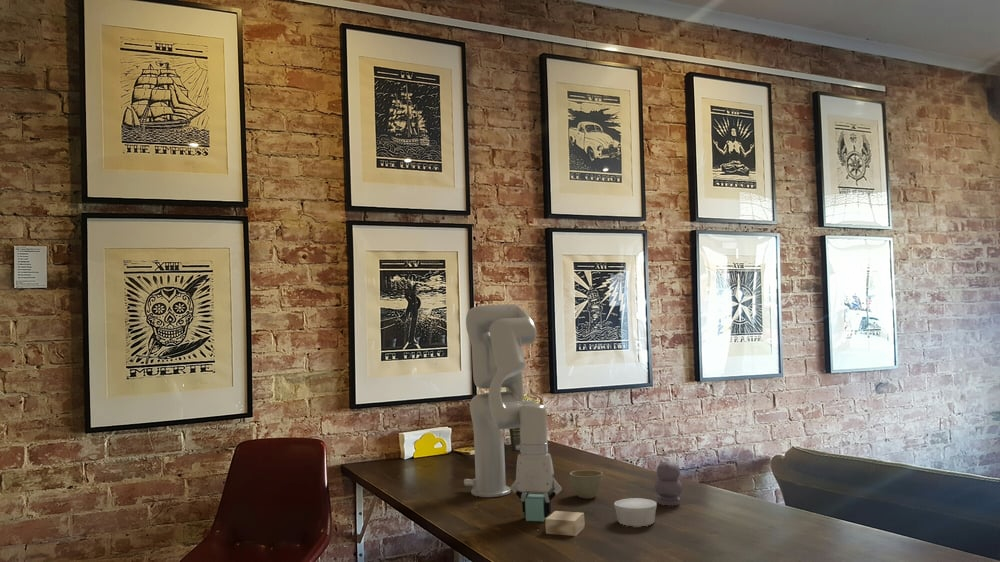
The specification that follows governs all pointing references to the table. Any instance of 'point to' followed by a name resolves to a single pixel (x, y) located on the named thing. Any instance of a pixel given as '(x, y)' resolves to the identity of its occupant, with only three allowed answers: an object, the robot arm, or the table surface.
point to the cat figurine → (668, 483)
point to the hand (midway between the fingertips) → (536, 514)
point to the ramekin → (635, 511)
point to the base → (565, 523)
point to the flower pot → (586, 482)
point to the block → (535, 507)
